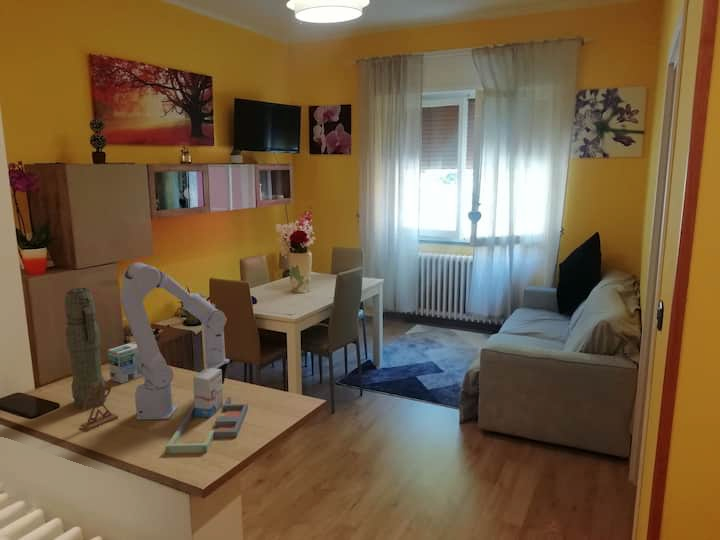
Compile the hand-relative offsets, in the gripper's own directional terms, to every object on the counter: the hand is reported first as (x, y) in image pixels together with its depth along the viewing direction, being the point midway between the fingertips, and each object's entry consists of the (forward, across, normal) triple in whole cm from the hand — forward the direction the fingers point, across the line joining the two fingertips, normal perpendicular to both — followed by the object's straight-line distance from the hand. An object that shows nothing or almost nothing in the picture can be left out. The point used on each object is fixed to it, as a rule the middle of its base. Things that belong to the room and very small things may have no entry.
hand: (217, 388), depth 166 cm
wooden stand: (+3, -16, +29) cm, 33 cm away
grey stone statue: (+3, -2, +38) cm, 38 cm away
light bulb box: (+3, +18, +34) cm, 38 cm away
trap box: (+2, -19, -3) cm, 20 cm away
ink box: (+3, -11, 0) cm, 11 cm away
